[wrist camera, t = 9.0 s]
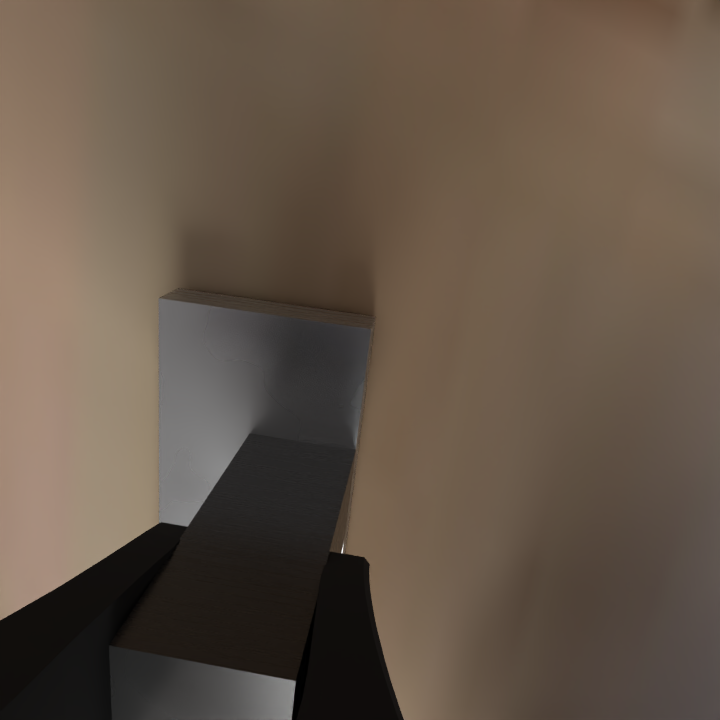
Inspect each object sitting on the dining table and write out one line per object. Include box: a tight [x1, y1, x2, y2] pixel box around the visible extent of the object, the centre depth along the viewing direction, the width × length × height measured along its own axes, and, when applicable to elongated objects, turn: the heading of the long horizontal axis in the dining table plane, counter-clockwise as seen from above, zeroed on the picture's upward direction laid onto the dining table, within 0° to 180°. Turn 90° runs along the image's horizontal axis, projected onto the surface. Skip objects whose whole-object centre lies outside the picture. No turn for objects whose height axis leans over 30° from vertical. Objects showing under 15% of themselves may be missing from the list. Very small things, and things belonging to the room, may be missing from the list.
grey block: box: [109, 288, 376, 720], centre depth 11 cm, size 4×8×7 cm, turn 173°
